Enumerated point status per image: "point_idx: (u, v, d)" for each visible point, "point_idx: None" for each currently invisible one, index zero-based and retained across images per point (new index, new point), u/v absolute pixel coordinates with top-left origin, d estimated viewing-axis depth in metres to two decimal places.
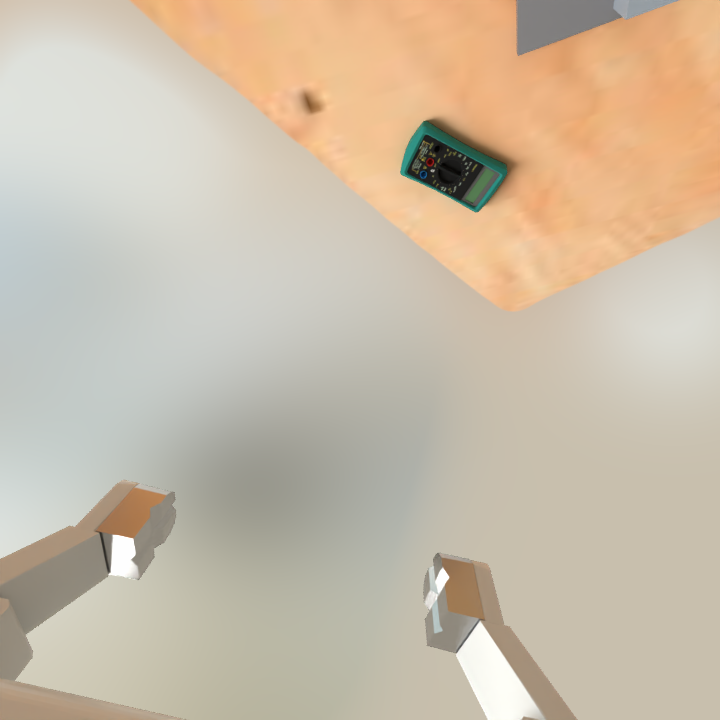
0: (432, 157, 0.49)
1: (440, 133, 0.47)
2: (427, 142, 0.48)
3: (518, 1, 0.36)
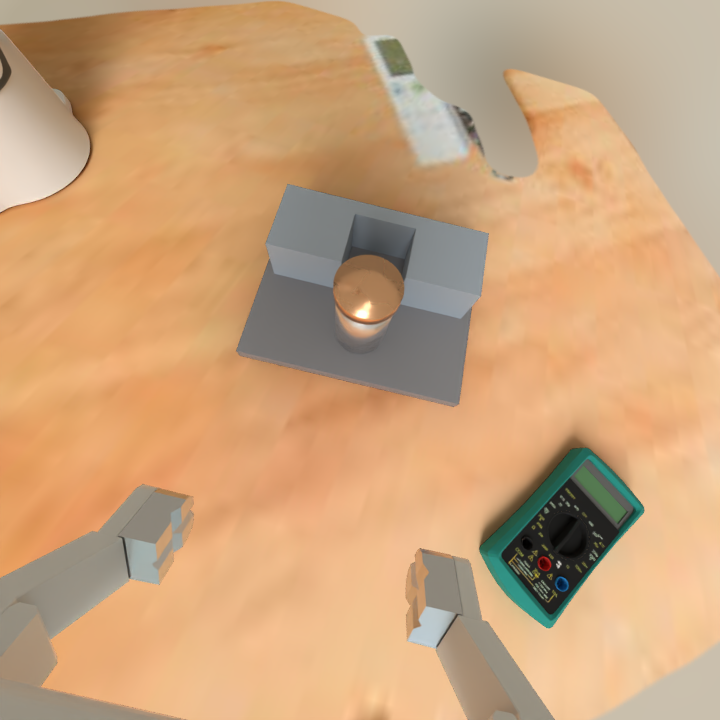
0: (537, 556, 0.29)
1: (505, 531, 0.30)
2: (513, 556, 0.29)
3: (412, 392, 0.33)
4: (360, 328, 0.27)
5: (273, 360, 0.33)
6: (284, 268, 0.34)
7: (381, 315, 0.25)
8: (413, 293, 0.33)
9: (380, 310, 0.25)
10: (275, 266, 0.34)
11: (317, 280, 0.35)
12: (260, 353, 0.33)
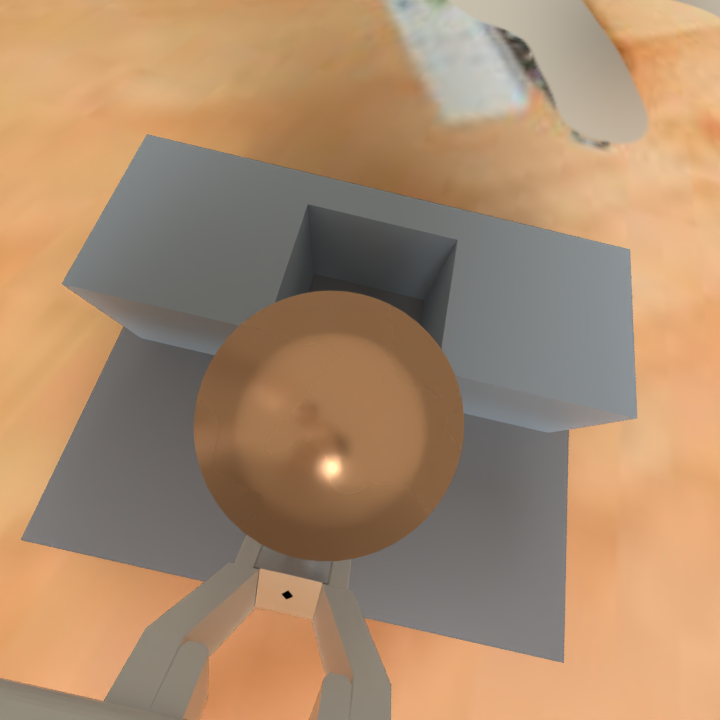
0: None
1: None
2: None
3: (451, 634, 0.14)
4: None
5: None
6: (151, 332, 0.15)
7: (380, 543, 0.06)
8: None
9: (376, 519, 0.06)
10: (131, 327, 0.15)
11: None
12: (81, 545, 0.13)
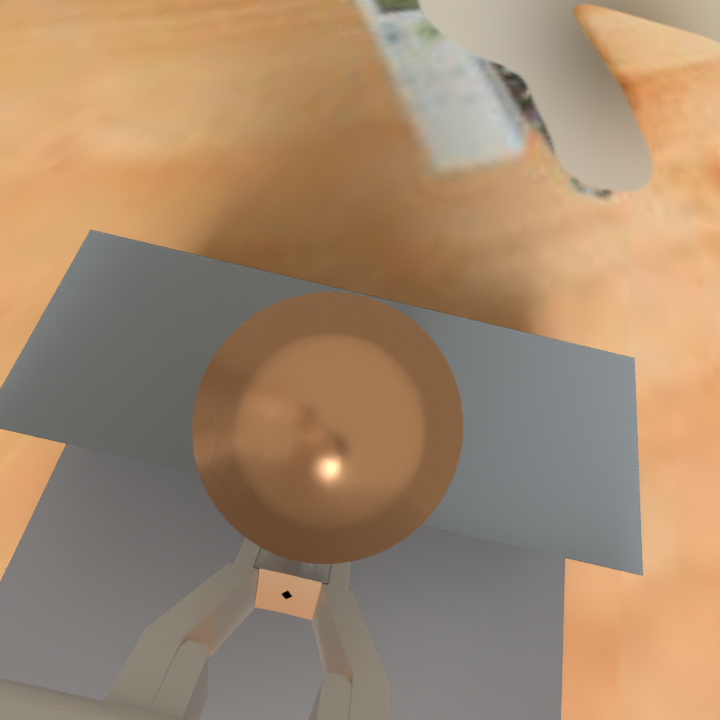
0: None
1: None
2: None
3: None
4: None
5: None
6: None
7: (378, 545, 0.06)
8: None
9: (374, 522, 0.06)
10: None
11: None
12: None
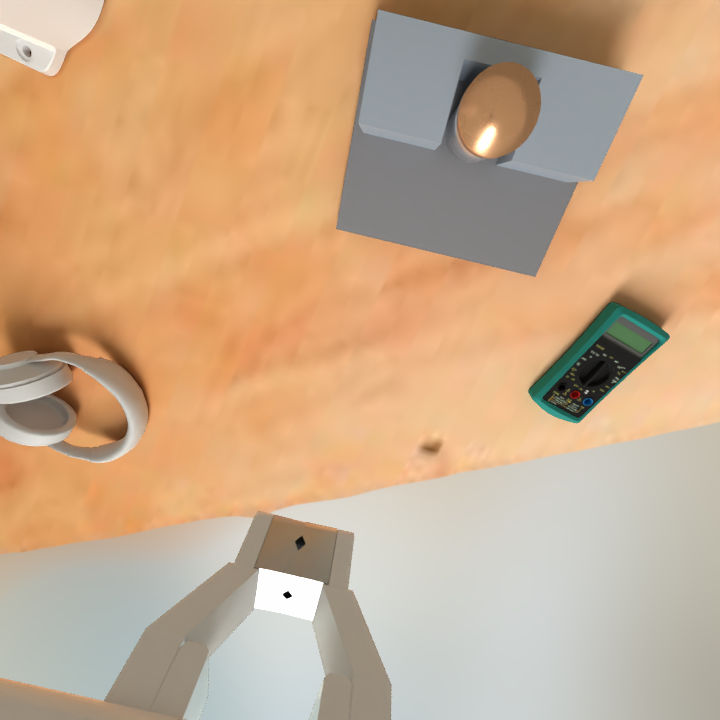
0: (570, 391, 0.42)
1: (546, 382, 0.42)
2: (551, 396, 0.42)
3: (494, 265, 0.36)
4: (479, 157, 0.27)
5: None
6: (375, 133, 0.31)
7: (506, 152, 0.24)
8: (518, 166, 0.30)
9: (506, 146, 0.24)
10: (365, 131, 0.31)
11: (411, 143, 0.32)
12: (357, 231, 0.36)
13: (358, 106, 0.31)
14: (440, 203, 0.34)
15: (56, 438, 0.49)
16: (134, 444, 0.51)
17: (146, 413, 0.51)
